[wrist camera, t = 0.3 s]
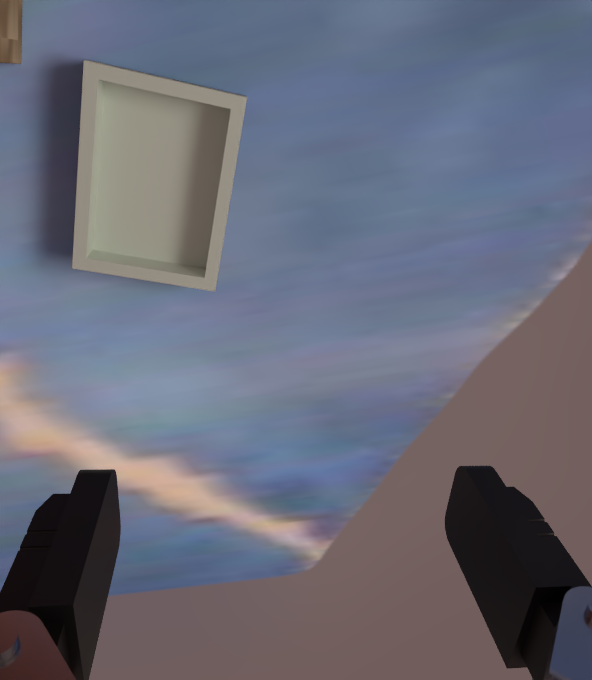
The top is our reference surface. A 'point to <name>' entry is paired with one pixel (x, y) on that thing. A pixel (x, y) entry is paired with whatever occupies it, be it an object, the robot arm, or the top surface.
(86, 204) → the tray
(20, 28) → the oak block
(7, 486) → the top surface
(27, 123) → the top surface
